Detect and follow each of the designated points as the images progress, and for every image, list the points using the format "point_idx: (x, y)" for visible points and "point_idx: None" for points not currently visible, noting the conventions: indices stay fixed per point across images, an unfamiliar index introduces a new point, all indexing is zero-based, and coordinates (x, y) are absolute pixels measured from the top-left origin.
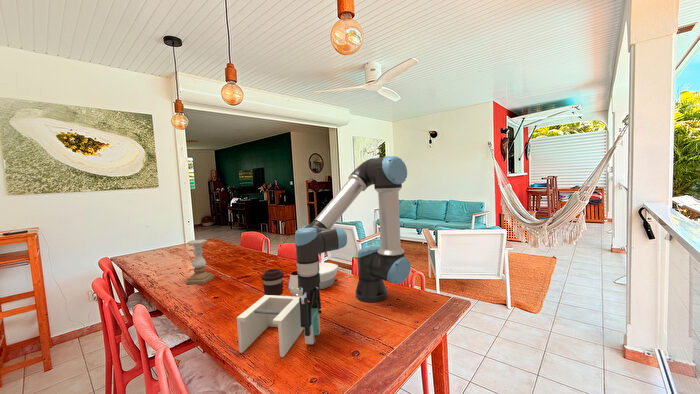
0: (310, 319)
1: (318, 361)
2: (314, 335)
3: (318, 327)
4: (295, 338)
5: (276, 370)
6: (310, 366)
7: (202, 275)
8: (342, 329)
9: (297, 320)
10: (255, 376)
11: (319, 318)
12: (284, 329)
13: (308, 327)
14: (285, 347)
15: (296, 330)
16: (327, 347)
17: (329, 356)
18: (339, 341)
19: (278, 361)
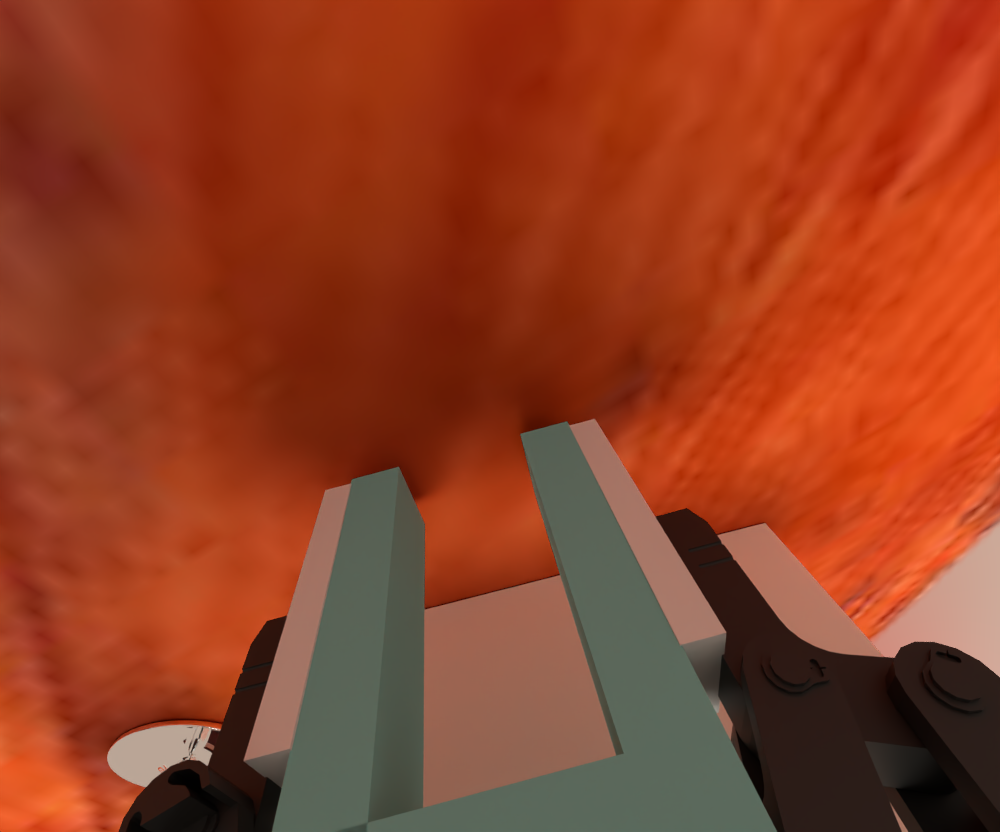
0: (847, 814)
1: (811, 193)
2: (538, 480)
3: (366, 539)
4: (535, 597)
5: (918, 470)
6: (895, 234)
7: None
8: (4, 271)
9: (485, 781)
10: (962, 535)
11: (274, 659)
12: None
13: (790, 635)
14: (758, 579)
15: (514, 664)
16: (525, 242)
17: (702, 95)
18: (317, 138)
19: (813, 520)
